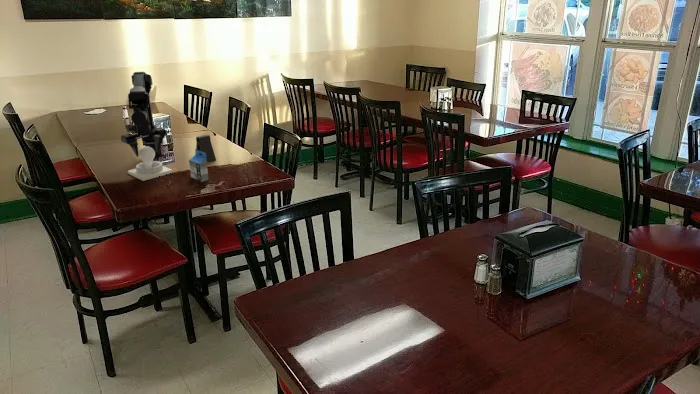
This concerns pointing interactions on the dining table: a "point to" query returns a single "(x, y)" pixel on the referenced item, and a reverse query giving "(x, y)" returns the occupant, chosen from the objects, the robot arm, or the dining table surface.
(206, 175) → the retail box
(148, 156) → the light bulb
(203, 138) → the phone stand
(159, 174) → the socket base
